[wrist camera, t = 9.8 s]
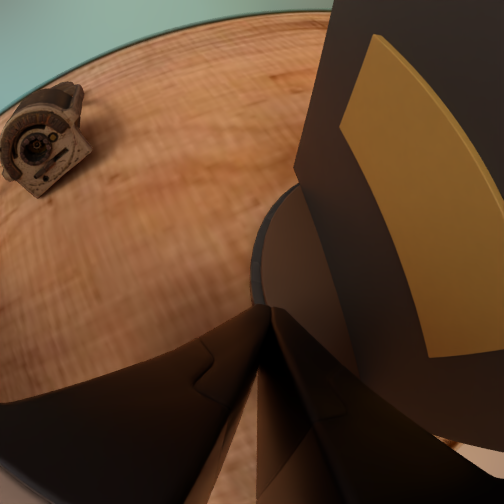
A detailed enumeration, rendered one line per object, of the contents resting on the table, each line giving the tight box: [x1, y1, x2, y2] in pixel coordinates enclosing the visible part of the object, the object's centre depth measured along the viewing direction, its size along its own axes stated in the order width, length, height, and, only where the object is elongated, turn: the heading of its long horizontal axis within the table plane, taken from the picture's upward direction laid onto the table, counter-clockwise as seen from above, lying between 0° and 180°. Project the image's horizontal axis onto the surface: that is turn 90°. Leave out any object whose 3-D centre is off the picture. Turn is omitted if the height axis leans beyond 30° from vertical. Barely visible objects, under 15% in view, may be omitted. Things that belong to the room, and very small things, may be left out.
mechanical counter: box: [0, 81, 93, 198], centre depth 17 cm, size 7×13×10 cm
